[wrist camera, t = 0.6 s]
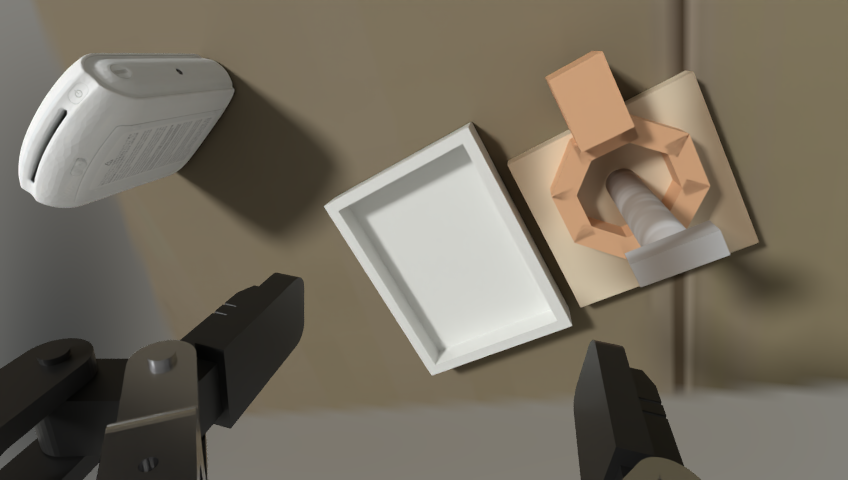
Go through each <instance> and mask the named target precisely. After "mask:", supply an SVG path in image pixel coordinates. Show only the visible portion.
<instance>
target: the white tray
mask: <svg viewBox="0 0 848 480" xmlns="http://www.w3.org/2000/svg"><path fill="white" fill-rule="evenodd" d="M324 207H325V209H326V210H327V212H328V214H329V215H330V217H331V218H332V220H333V221H334V223H335V225H336V226H337V228H338V229H339V231H340V232H341V234H342V236H343V237H344V239H345V240H346V242H347V243H348V245H349V247H350V248H351V250H352V251H353V253H354V254H355V256H356V257H357V259H358V261H359V262H360V264H361V265H362V267H363V268H364V270H365V272H366V273H367V275H368V276H369V278H370V279H371V281H372V283H373V284H374V286H375V287H376V289H377V290H378V292H379V294H380V295H381V297H382V298H383V300H384V301H385V303H386V305H387V306H388V308H389V309H390V311H391V312H392V314H393V316H394V317H395V319H396V320H397V322H398V323H399V325H400V327H401V328H402V330H403V331H404V333H405V334H406V336H407V338H408V339H409V341H410V342H411V344H412V345H413V347H414V348H415V350H416V352H417V353H418V355H419V356H420V358H421V359H422V361H423V363H424V364H425V366H426V367H427V369H428V370H429V372H430V374H431V375H435V374H437V373H440V372H443V371H446V370H449V369H452V368H454V367H457V366H460V365H463V364H466V363H469V362H471V361H474V360H477V359H480V358H483V357H486V356H489V355H491V354H494V353H497V352H500V351H503V350H506V349H508V348H511V347H514V346H517V345H520V344H523V343H525V342H528V341H531V340H534V339H537V338H540V337H542V336H545V335H548V334H551V333H554V332H557V331H559V330H562V329H565V328H568V327H571V326H572V321H571V315H570V310H569V307H568V305H567V303H566V301H565V299H564V298H563V296H562V294H561V292H560V290H559V288H558V286H557V284H556V282H555V280H554V278H553V276H552V275H551V273H550V271H549V269H548V267H547V265H546V263H545V261H544V259H543V257H542V255H541V253H540V252H539V250H538V248H537V246H536V244H535V242H534V240H533V238H532V236H531V234H530V232H529V230H528V229H527V227H526V225H525V223H524V221H523V219H522V217H521V215H520V213H519V211H518V209H517V208H516V206H515V204H514V202H513V200H512V198H511V196H510V194H509V192H508V190H507V188H506V186H505V185H504V183H503V181H502V179H501V177H500V175H499V173H498V171H497V169H496V167H495V165H494V163H493V162H492V160H491V158H490V156H489V154H488V152H487V150H486V148H485V146H484V144H483V142H482V140H481V139H480V137H479V135H478V133H477V131H476V129H475V127H474V125H473V123H472V122H470V123H468V124H466V125H464V126H463V127H461V128H459V129H457V130H455V131H454V132H452V133H450V134H448V135H446V136H445V137H443V138H441V139H439V140H437V141H436V142H434V143H432V144H430V145H428V146H427V147H425V148H423V149H421V150H419V151H418V152H416V153H414V154H412V155H410V156H409V157H407V158H405V159H403V160H401V161H400V162H398V163H396V164H394V165H392V166H391V167H389V168H387V169H385V170H383V171H382V172H380V173H378V174H376V175H374V176H372V177H371V178H369V179H367V180H365V181H363V182H362V183H360V184H358V185H356V186H354V187H353V188H351V189H349V190H347V191H345V192H344V193H342V194H340V195H338V196H336V197H335V198H334V199H333V200H331V201H330V202H329V203H327V204H326V205H325V206H324Z"/></svg>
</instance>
